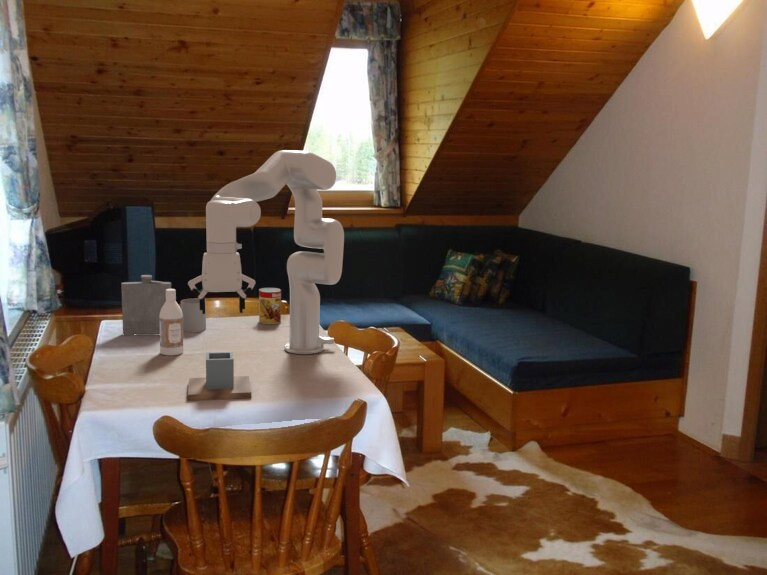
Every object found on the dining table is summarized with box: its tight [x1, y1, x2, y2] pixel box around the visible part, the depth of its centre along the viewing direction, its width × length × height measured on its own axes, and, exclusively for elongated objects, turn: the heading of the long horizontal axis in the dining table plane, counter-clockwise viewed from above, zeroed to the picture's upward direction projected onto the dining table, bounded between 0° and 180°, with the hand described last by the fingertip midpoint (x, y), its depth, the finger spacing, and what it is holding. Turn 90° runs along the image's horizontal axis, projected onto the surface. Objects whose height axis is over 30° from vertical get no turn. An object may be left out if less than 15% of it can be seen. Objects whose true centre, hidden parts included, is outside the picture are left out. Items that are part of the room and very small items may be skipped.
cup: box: [180, 298, 207, 333], centre depth 265 cm, size 8×8×10 cm
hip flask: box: [121, 274, 172, 336], centre depth 256 cm, size 16×4×20 cm, turn 102°
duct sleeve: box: [205, 351, 235, 390], centre depth 202 cm, size 7×7×8 cm
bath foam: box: [159, 288, 184, 357], centre depth 234 cm, size 7×7×20 cm
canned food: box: [258, 287, 282, 325], centre depth 280 cm, size 8×8×12 cm
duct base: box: [187, 375, 252, 401], centre depth 202 cm, size 16×14×8 cm
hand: (222, 312), depth 202 cm, fingers open, 9 cm apart
